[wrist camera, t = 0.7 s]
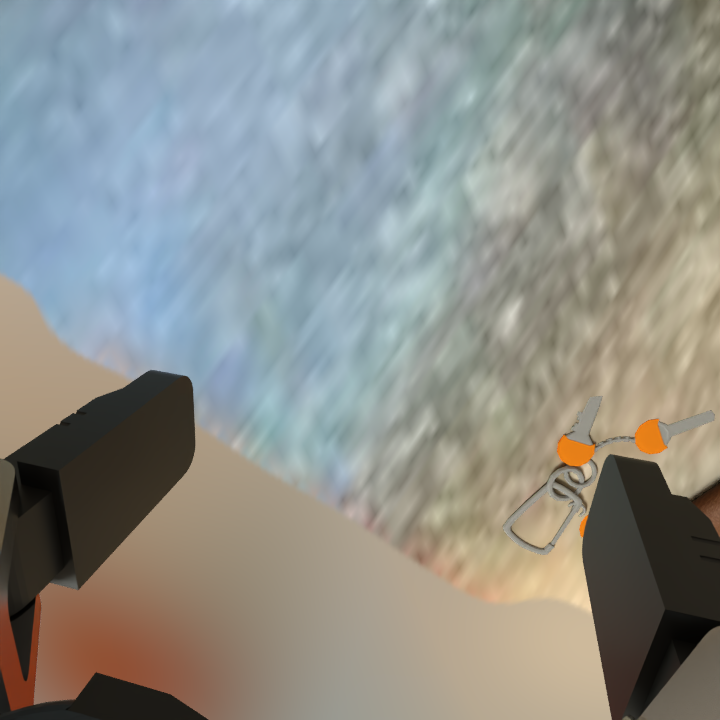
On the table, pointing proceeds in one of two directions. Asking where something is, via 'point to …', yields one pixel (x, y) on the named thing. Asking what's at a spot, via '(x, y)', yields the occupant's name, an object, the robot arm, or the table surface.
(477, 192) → the table surface
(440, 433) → the table surface
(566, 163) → the table surface
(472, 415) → the table surface
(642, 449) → the key chain
